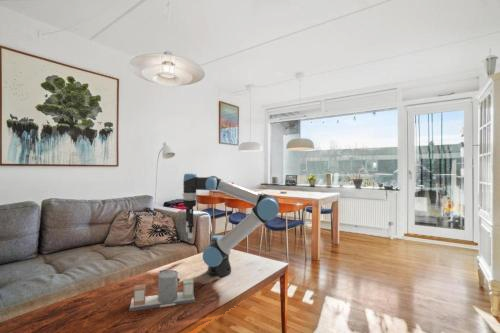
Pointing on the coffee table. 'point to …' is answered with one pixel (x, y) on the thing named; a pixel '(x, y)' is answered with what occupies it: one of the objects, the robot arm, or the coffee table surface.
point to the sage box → (188, 288)
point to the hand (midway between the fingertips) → (189, 234)
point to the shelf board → (154, 303)
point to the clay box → (139, 294)
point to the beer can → (167, 286)
